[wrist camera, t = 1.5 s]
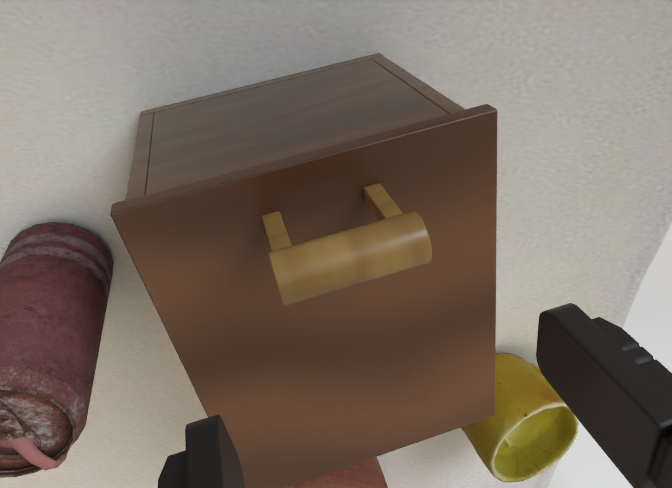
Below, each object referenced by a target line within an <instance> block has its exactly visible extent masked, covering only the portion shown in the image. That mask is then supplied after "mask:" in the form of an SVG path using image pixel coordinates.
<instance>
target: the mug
mask: <svg viewBox="0 0 672 488" xmlns="http://www.w3.org/2000/svg"><path fill="white" fill-rule="evenodd" d="M578 426H579V421H578V419H577V417H576V416H575V415H574V414H573V412H572V411H571V410H570V409H569V408H568V406H567V405H566V404H565V403H564V401H563V400H562V399H561V398H560V396H559V395H558V394H557V393H556V392H555V390H554V389H553V388H552V387H551V385H550V384H549V383H548V382H547V380H546V379H545V378H544V376H543V374H542V373H541V371H540V368H539V367H537V366H535V365H533V364H531V363H528V362H526V361H525V360H523V359H522V358H519V357H517V356H515V355H513V354H509V353H496V354H495V415H494V416H492V417H489V418H486V419H483V420H480V421H477V422H474V423H471V424H469V425H466V426H463V427H461V428H462V429H463V431H464V432H465V434H466V435H467V437H468V438H469V440H470V442H471V443H472V445H473V447H474V448H475V450H476V452H477V453H478V455H479V457H480V458H481V459H482V461H483V462H484V464H485V466H486V467H487V468H488V469H489V471H490V472H491V473H492V475H493V476H494V477H496V478H497V479H499V480H500V481H503V482H519V481H524V480H526V479H529V478H531V477H533V476H535V475H538V474H540V473H542V472H543V471H545V470H547V469H548V468H549V467H550V466H552V465H553V464H554V463H555V462H556V461H557V460H559V459H561V457H562V456H563V455H564V454H565V453H566V452H567V451H568V450H569V448H570V447H571V445H572V444H573V442H574V440H575V438H576V435H577V433H578Z"/></svg>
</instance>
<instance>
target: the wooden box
mask: <svg viewBox="0 0 672 488" xmlns="http://www.w3.org/2000/svg"><path fill="white" fill-rule="evenodd" d="M463 110H465V109H464V108H462V107H461V106H459V105H458V104H456V103H455V102H453V101H452V100H450V99H449V98H447V97H445V96H444V95H442V94H441V93H439V92H438V91H436V90H435V89H433V88H432V87H430V86H429V85H427V84H425V83H424V82H422V81H421V80H419V79H418V78H416V77H415V76H413V75H412V74H410V73H408V72H407V71H405V70H404V69H402V68H401V67H399V66H398V65H396V64H395V63H393V62H392V61H390V60H388V59H387V58H385V57H384V56H383V55H381V54H380V53H378V54H374V55H370V56H366V57H361V58H357V59H353V60H349V61H345V62H341V63H337V64H333V65H329V66H325V67H321V68H317V69H313V70H309V71H305V72H301V73H297V74H293V75H289V76H285V77H280V78H276V79H272V80H268V81H264V82H260V83H256V84H252V85H248V86H244V87H240V88H236V89H232V90H228V91H224V92H220V93H216V94H212V95H208V96H203V97H199V98H195V99H191V100H187V101H183V102H179V103H175V104H171V105H167V106H163V107H159V108H155V109H151V110H147V111H143V112H141V114H140V120H139V126H138V132H137V137H136V143H135V149H134V154H133V160H132V166H131V172H130V177H129V183H128V189H127V194H126V200H129V199H133V198H137V197H140V196H144V195H148V194H152V193H155V192H159V191H163V190H167V189H170V188H174V187H178V186H182V185H185V184H189V183H193V182H197V181H200V180H204V179H208V178H211V177H215V176H219V175H223V174H226V173H230V172H234V171H238V170H241V169H245V168H249V167H253V166H256V165H260V164H264V163H268V162H271V161H275V160H279V159H283V158H286V157H290V156H294V155H298V154H301V153H305V152H309V151H313V150H316V149H320V148H324V147H328V146H331V145H335V144H339V143H343V142H346V141H350V140H354V139H358V138H361V137H365V136H369V135H373V134H376V133H380V132H384V131H388V130H391V129H395V128H399V127H403V126H406V125H410V124H414V123H418V122H421V121H425V120H429V119H433V118H436V117H440V116H444V115H448V114H451V113H455V112H459V111H463Z"/></svg>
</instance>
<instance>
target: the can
mask: <svg viewBox="0 0 672 488" xmlns="http://www.w3.org/2000/svg"><path fill="white" fill-rule="evenodd" d="M112 273H113V260H112V257H111V254H110V251H109V249H108V248H107V247H106V245H105V244H104V243H103V242H102V240H101V239H100V238H98V237H97V236H95V235H94V234H93V233H91V232H90V231H88V230H86V229H84V228H81V227H78V226H75V225H73V224H66V223H57V222H51V223H44V224H37V225H34V226H32V227H30V228H28V229H26V230H23V231H21V232H20V233H19V234H18V235H17V236H16V237H15V238H14V239H13V240H12V241H11V242H10V244H9V246H8V248H7V250H6V252H5V254H4V256H3V258H2V260H1V262H0V478H1V477H18V476H22V475H26V474H30V473H35V472H38V471H40V470H42V469H44V470H48V469H52V468H56V467H58V466H59V465H60V464H61V463H62V462H63V461H64V460H65V459H66V456H67V452H68V450H69V449H70V447H71V446H72V445H73V443H74V442H75V441H76V440H77V439H78V438H79V436H80V434H81V432H82V431H83V429H84V427H85V425H86V419H87V413H88V408H89V402H90V397H91V391H92V386H93V380H94V374H95V369H96V363H97V358H98V352H99V346H100V341H101V335H102V330H103V324H104V319H105V313H106V307H107V302H108V296H109V291H110V285H111V279H112Z"/></svg>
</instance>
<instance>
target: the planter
mask: <svg viewBox="0 0 672 488" xmlns="http://www.w3.org/2000/svg"><path fill="white" fill-rule="evenodd" d="M287 488H388V487H387V484H386V481H385V478H384V476H383V473H382V470H381V468H380V465H379V462H378V460H377V458H376V457H374V458H371V459H368V460H365V461H362V462H359V463H356V464H353V465H351V466H348V467H345V468H342V469H339V470H336V471H333V472H330V473H328V474H325V475H322V476H319V477H316V478H313V479H310V480H307V481H305V482H302V483H299V484H296V485H293V486H290V487H287Z"/></svg>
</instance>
